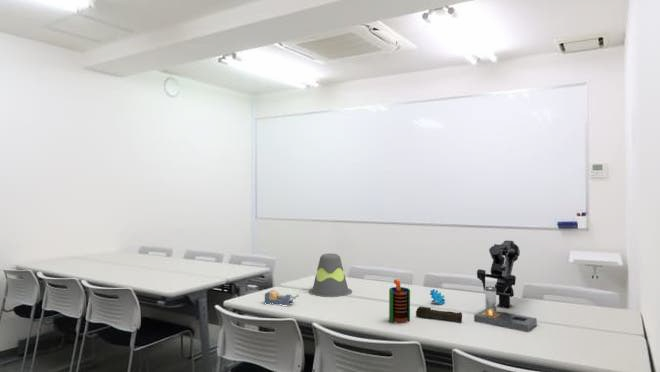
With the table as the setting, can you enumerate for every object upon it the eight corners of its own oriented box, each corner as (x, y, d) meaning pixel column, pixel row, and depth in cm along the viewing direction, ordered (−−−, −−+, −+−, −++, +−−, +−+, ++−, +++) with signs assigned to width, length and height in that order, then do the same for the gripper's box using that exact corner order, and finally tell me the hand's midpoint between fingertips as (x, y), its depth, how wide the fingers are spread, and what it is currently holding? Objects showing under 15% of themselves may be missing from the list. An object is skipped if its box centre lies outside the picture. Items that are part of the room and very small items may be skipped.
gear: (436, 303, 238) (428, 288, 245) (430, 309, 241) (422, 294, 248) (450, 303, 244) (441, 288, 251) (443, 309, 247) (435, 294, 254)
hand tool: (462, 321, 212) (462, 309, 213) (461, 323, 208) (460, 312, 208) (417, 315, 223) (417, 304, 223) (415, 317, 219) (415, 306, 219)
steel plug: (490, 312, 215) (490, 286, 216) (498, 314, 211) (498, 288, 211) (483, 313, 213) (483, 287, 213) (491, 316, 209) (491, 289, 209)
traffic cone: (353, 297, 260) (352, 257, 261) (307, 297, 261) (306, 257, 261) (351, 286, 288) (351, 251, 288) (309, 287, 288) (309, 251, 289)
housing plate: (485, 314, 222) (485, 308, 222) (536, 324, 205) (536, 317, 205) (474, 321, 211) (474, 314, 211) (527, 332, 195) (527, 324, 195)
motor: (395, 324, 207) (395, 283, 207) (385, 319, 215) (384, 279, 215) (412, 321, 211) (412, 280, 212) (401, 316, 219) (401, 277, 219)
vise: (262, 304, 245) (262, 293, 245) (271, 300, 254) (271, 289, 254) (291, 307, 238) (291, 295, 238) (299, 302, 248) (299, 291, 248)
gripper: (479, 254, 226) (474, 280, 217) (517, 260, 217) (513, 287, 209) (479, 265, 234) (474, 290, 225) (516, 271, 225) (513, 298, 217)
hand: (493, 291), depth 219 cm, fingers open, 9 cm apart
